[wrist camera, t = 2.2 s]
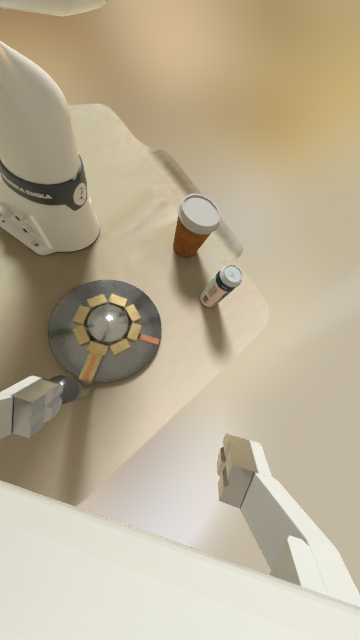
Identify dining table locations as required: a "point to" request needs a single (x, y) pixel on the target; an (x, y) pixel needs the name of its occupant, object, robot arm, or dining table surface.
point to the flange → (105, 330)
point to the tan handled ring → (95, 347)
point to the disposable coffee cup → (194, 223)
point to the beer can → (221, 285)
